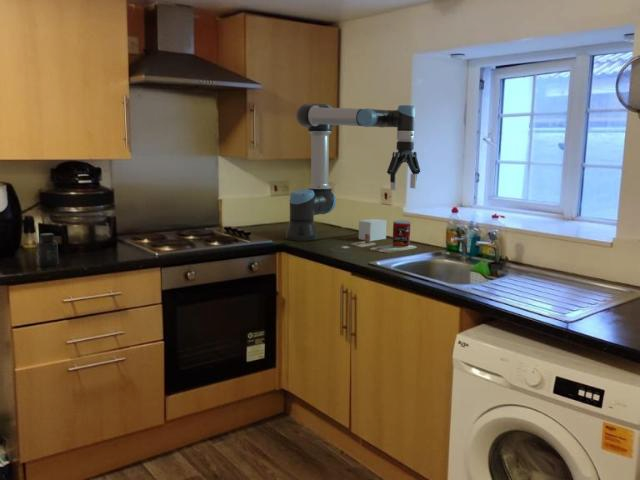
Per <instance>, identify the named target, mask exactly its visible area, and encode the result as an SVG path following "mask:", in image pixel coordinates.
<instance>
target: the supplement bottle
mask: <svg viewBox="0 0 640 480" xmlns="http://www.w3.org/2000/svg"><path fill="white" fill-rule="evenodd" d="M39 240H40V241H38V243H37V255H38V267H40V266H41V268H53V267H52V266H54V267H57V266H58V265H59V249H58V248H59V245H58V242H57V240H55V234H54V233H52V232H47V233H46V232H45V233H39Z"/></svg>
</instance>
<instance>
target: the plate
mask: <svg viewBox="0 0 640 480" xmlns="http://www.w3.org/2000/svg"><path fill="white" fill-rule="evenodd" d="M350 244H351V246H353V247H358V248H365V247H370V246H371V247H372V246H376V242H373V241H370V234H365V240H364V241H359V242H354V243H352V242H351V243H350Z"/></svg>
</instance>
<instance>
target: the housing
mask: <svg viewBox="0 0 640 480" xmlns="http://www.w3.org/2000/svg"><path fill="white" fill-rule="evenodd" d="M387 222H388V221H387V220H386V219H378V218H371V219H362V220H359V221H358V240H361V241H365V234H370V242H374V241H379V240H386V239H387Z"/></svg>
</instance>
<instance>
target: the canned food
mask: <svg viewBox="0 0 640 480" xmlns="http://www.w3.org/2000/svg"><path fill="white" fill-rule="evenodd" d="M392 225H393V226H392V244H393V245H394V246H398V247H406V246H409V245H411V244H410V243H411V241H410V240H411V221H410V220H402V219H400V220H398V219H397V220H396V219H395V220H393V223H392Z"/></svg>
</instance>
